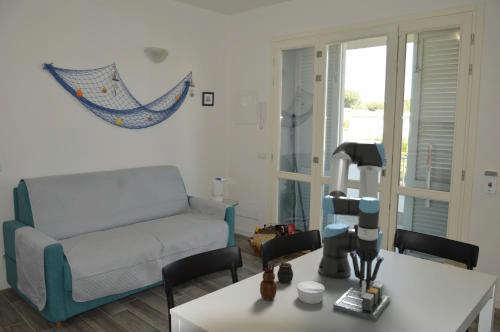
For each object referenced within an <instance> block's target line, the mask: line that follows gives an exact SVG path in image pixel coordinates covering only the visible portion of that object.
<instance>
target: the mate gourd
mask: <svg viewBox="0 0 500 332" xmlns="http://www.w3.org/2000/svg"><path fill="white" fill-rule="evenodd" d="M279 259H280V261H281V263H279V264H278V265H279V266H278V270H277V274H276V277H277V280H278V282H280V283H281V284H287V285H288V284H289V283H291V282H292V281H293V277H294V271H293V269H292V265H293V264H291V263H289V262H284V261H283V259H282V257H279Z"/></svg>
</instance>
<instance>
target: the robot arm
mask: <svg viewBox="0 0 500 332" xmlns="http://www.w3.org/2000/svg"><path fill="white" fill-rule="evenodd" d="M330 163H331V165H332V168H331V174H330V184H329V189H328V191H329V192H328V195H324V196H323V197H322V206H321V208H322V212H323V213H324V214H329V215H333V216H334V215H335V216H336V215H337V216H339V215H340V216H350V217H357V220H356V222H355V223H354V224H353V227H350V225H349V224H347V223H343V222H342V223H341V222H339V223H330V224H328V225H326V226H325V227H324V229H323V235H322V236H323V247H322V249H323V250H322V257H321V260H320V262H319V263H318V264H319V265H318V273H319V274H320V275H322V276H325V277H327V278H333V279H343V278H344V279H345V278H348V277H350V276H351V274H352V273H351V271H352V268H351V265H350V261H349V258H348V257H349V256H350V258H351V262H352V265H353V272H354V277H355V278H356V279H359V289H362V294H361V297H363V295H364V294H365V293H367V291H368V290H369V289H370V287H371V282H374V281H376V279H377V277H378V273H379V270H380V267H381V263H382V262H383V261H385V258H384V257H383V256H382V257H381V256H380V255H379V253H380V252H381V247H382V241H383V234H384V231H383V230H382V229H380V228H381V227H380V225H379V219H380V209H381V207H380V205H381V204H380V199H378V198H379V195H378V193H379V173H380V172H381V171H382V170H383V166H386V164H387V162H386V149H385V145H384V142H382V141H377V140H355V139H352V140H351V139H350V140H346V141H344V142H342V143H341V144H339V145H338V146H337V147H336V148H335V149H334V151H333V152H332V155H331V159H330ZM351 165H356V169H358V171H359V185H358V188H359V189H358V197H350V196H349V197H348V195H347V194H348V182H349V173H350V166H351ZM358 258H359V262H358ZM375 259H376V260H375ZM374 260H375V261H376V263H375V265H374V269H373V261H374ZM359 264H360V265H359ZM372 269H373V271H372ZM365 273H366V276H365Z"/></svg>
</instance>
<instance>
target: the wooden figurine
mask: <svg viewBox="0 0 500 332" xmlns="http://www.w3.org/2000/svg"><path fill="white" fill-rule="evenodd" d="M274 272H275V262H273V263H272V266H271V264H270V263H269V266H266V267H265V268H264V272H263V273H262V281H260V285H259V293H260V296H261V298H263V300H266V301H273V300H274V299H275V297H276V296H277V290H278V285H277V282H276V280H275V279H276V274H275V273H274Z"/></svg>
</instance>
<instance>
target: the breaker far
mask: <svg viewBox="0 0 500 332" xmlns="http://www.w3.org/2000/svg"><path fill="white" fill-rule="evenodd" d="M383 286H384V285H383V283H380V282H374V283H373V284H372V285H371V287H372V288H376V289H378V299H380V298H381V297H382V295H383V288H384V287H383Z"/></svg>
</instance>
